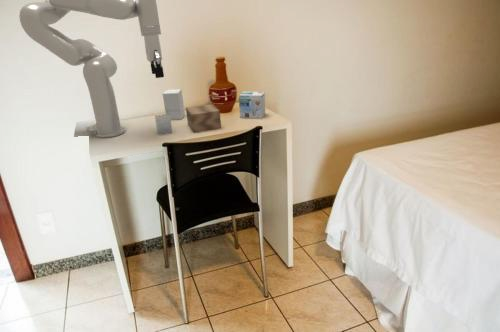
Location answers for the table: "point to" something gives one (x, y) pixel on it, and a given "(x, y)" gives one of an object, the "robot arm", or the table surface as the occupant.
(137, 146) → the table surface
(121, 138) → the table surface
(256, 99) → the light bulb box
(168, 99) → the supplement box
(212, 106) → the walnut block
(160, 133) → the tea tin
